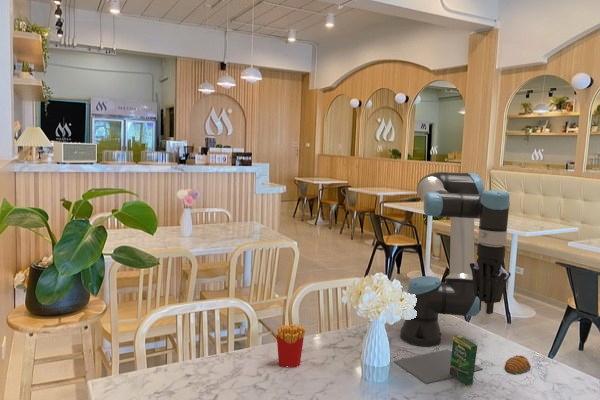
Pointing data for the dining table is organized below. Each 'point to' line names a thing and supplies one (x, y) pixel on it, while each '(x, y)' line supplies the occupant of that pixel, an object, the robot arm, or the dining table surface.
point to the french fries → (290, 345)
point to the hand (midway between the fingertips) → (485, 322)
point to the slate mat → (430, 366)
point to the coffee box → (463, 359)
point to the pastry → (517, 364)
